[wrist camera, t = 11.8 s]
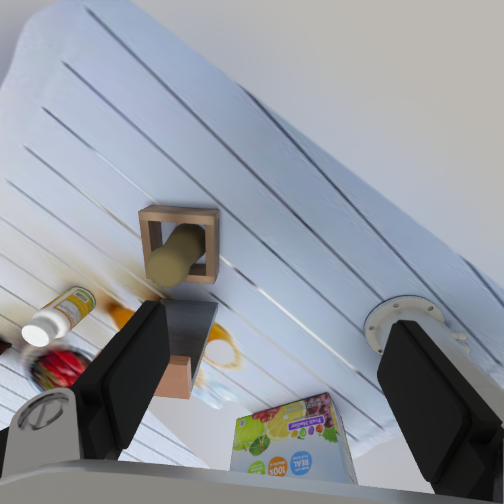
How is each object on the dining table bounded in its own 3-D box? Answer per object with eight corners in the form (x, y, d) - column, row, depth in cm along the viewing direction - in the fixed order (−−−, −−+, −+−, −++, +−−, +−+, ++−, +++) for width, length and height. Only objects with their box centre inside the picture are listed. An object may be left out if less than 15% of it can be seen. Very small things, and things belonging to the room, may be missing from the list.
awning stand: (217, 283, 42) (186, 365, 26) (217, 308, 44) (189, 399, 28) (159, 279, 42) (94, 357, 26) (162, 304, 44) (102, 390, 28)
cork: (167, 223, 38) (131, 250, 28) (205, 221, 38) (182, 247, 28) (175, 259, 41) (144, 295, 30) (211, 257, 40) (192, 293, 30)
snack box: (326, 388, 50) (379, 607, 26) (341, 415, 52) (402, 635, 29) (233, 416, 55) (206, 621, 31) (252, 439, 57) (240, 644, 34)
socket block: (219, 209, 37) (213, 216, 33) (219, 271, 41) (214, 283, 37) (151, 205, 37) (138, 211, 34) (157, 267, 41) (146, 278, 38)
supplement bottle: (70, 310, 46) (22, 348, 37) (63, 284, 44) (11, 319, 35) (98, 312, 46) (57, 352, 37) (93, 287, 44) (48, 323, 35)
